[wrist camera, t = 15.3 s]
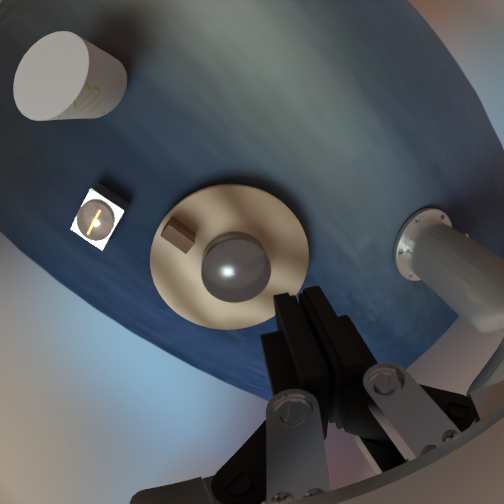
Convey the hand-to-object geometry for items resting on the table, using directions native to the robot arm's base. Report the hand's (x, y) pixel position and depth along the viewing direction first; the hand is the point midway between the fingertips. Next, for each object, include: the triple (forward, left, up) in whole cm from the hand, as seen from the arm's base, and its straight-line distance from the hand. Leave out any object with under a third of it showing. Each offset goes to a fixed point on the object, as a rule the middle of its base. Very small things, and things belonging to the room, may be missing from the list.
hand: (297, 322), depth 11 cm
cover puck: (+2, +9, -24) cm, 26 cm away
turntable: (+2, +10, -27) cm, 29 cm away
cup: (+15, -15, -27) cm, 34 cm away
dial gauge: (+17, +1, -27) cm, 32 cm away
